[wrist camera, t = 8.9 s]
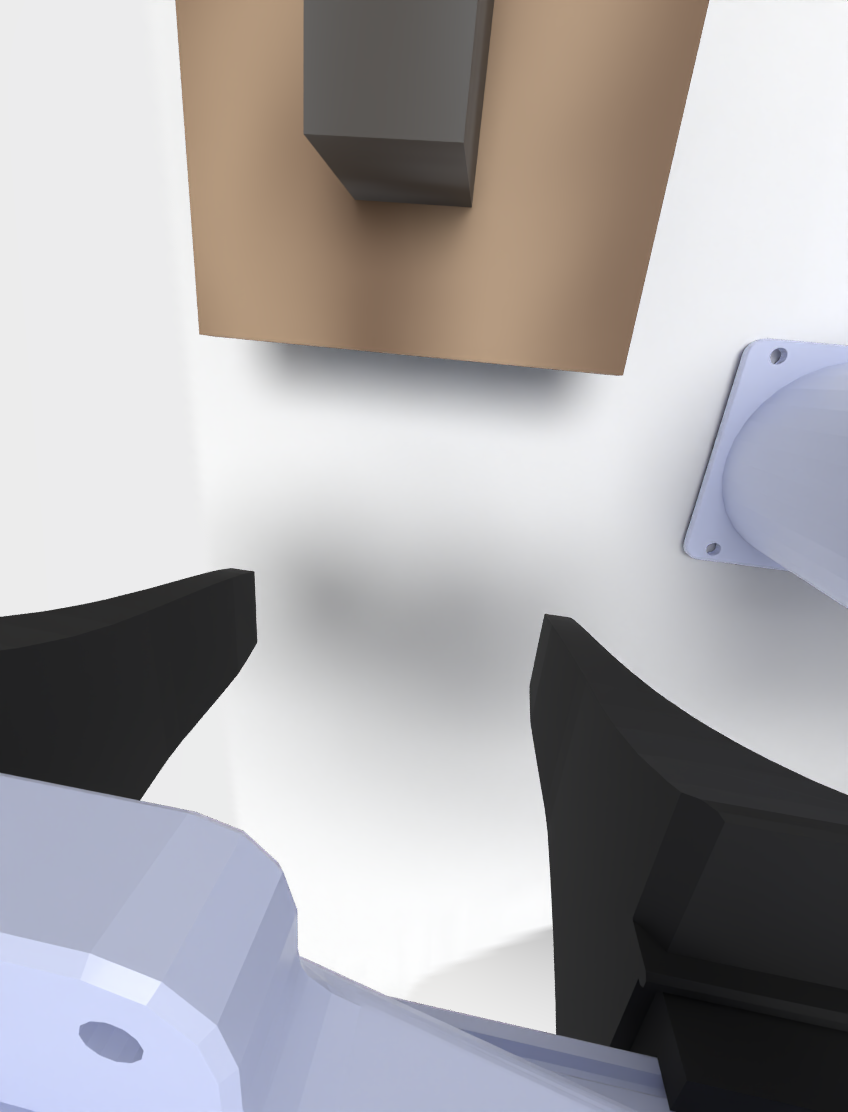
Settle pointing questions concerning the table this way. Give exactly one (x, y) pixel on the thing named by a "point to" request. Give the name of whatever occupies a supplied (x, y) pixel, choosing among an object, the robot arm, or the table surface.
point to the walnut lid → (432, 171)
